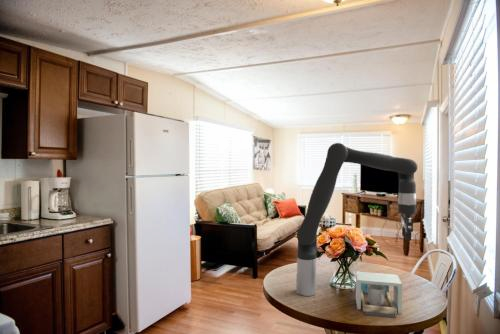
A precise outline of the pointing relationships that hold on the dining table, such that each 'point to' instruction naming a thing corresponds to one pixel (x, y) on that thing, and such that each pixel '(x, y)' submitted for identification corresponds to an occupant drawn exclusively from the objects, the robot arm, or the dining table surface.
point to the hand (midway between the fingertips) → (406, 238)
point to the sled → (378, 308)
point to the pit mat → (380, 314)
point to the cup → (376, 294)
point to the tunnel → (380, 280)
